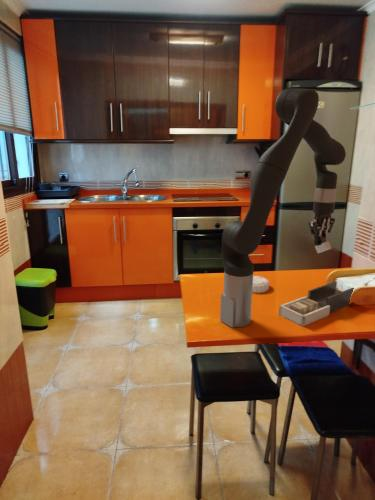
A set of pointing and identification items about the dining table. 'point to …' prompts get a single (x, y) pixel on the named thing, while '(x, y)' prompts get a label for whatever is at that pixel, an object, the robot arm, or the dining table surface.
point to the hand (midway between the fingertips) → (319, 244)
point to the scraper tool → (322, 245)
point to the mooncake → (260, 284)
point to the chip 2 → (310, 305)
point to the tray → (299, 318)
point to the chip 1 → (299, 308)
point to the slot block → (330, 296)
